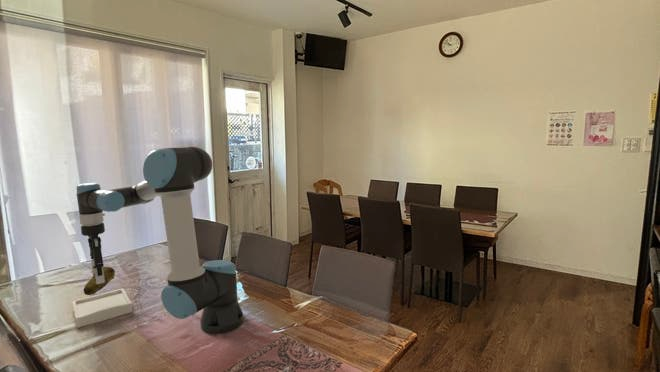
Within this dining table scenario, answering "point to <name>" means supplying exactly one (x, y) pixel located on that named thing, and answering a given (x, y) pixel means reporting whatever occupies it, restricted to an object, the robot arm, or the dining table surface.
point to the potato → (93, 287)
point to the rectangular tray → (101, 307)
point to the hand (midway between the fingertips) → (98, 278)
